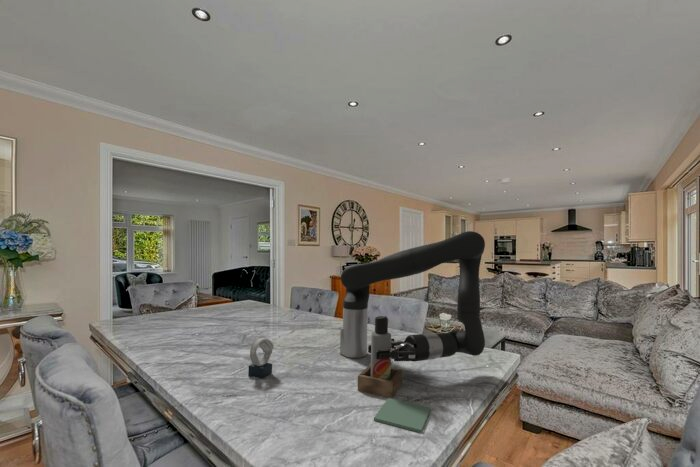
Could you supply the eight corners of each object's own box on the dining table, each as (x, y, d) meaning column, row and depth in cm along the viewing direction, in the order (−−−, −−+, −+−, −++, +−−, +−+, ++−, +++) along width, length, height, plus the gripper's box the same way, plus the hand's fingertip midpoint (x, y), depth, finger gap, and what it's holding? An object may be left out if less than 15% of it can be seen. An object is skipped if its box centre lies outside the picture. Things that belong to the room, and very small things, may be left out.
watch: (275, 371, 101) (276, 336, 101) (259, 381, 93) (260, 343, 94) (261, 368, 103) (262, 334, 104) (244, 377, 96) (245, 340, 96)
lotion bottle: (389, 392, 88) (390, 319, 89) (369, 390, 89) (370, 317, 90) (391, 383, 94) (392, 315, 94) (372, 381, 95) (373, 313, 95)
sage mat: (373, 420, 74) (373, 417, 74) (388, 400, 84) (388, 397, 84) (421, 432, 69) (421, 430, 69) (431, 409, 79) (431, 407, 79)
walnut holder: (357, 390, 89) (357, 375, 89) (370, 377, 98) (370, 364, 98) (392, 398, 85) (392, 382, 85) (402, 383, 94) (402, 369, 94)
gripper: (411, 328, 104) (362, 332, 98) (437, 341, 90) (383, 346, 84) (411, 351, 103) (362, 357, 97) (437, 368, 90) (383, 375, 84)
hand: (372, 352), depth 91 cm, fingers closed on lotion bottle, 4 cm apart
